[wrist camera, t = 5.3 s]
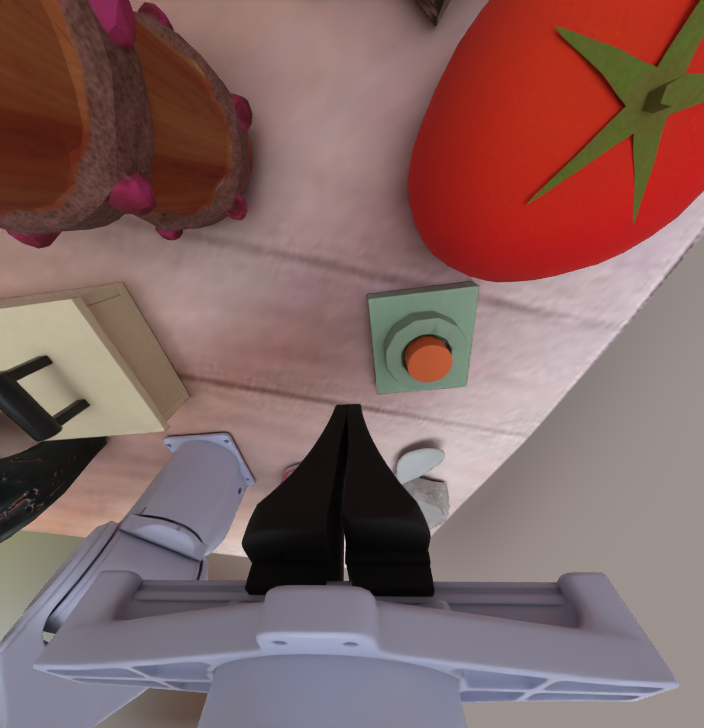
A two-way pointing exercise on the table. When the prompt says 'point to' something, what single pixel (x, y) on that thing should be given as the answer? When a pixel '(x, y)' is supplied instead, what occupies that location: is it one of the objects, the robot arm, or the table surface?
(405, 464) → the spoon
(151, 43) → the mug
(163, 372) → the cream square box
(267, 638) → the robot arm
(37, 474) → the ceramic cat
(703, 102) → the tomato
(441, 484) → the grey faceted pebble
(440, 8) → the book
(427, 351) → the button
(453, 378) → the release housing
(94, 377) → the cream square panel
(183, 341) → the table surface
